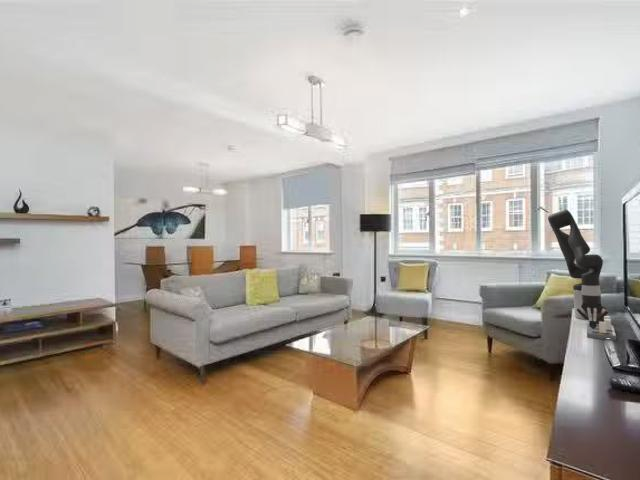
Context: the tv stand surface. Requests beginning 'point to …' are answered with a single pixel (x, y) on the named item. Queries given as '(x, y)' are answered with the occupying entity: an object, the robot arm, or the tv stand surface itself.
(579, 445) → the tv stand surface
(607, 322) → the block
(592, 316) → the mug
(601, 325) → the block
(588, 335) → the breaker panel
